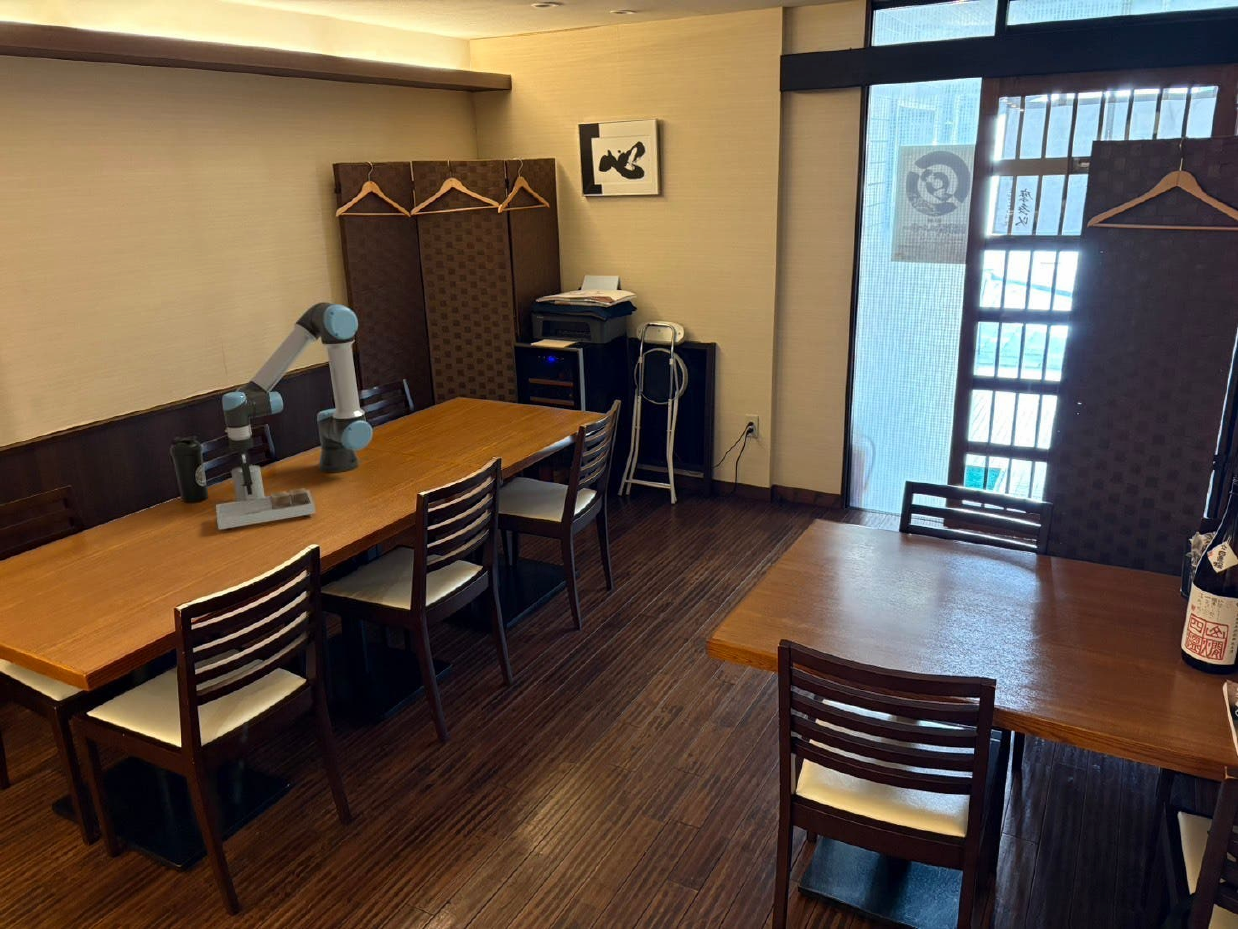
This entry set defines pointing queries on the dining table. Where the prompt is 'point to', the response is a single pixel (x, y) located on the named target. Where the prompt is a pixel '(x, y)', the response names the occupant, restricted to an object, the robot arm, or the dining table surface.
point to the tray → (258, 511)
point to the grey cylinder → (255, 478)
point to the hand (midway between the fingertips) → (250, 497)
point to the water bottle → (189, 469)
